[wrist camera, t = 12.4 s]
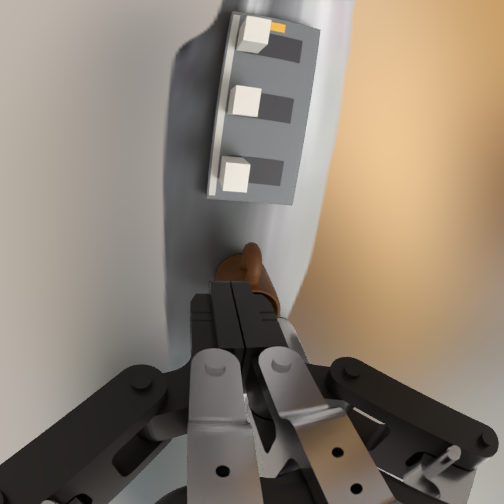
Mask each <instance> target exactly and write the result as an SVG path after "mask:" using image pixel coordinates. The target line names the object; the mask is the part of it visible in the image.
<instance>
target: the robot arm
mask: <svg viewBox="0 0 504 504" xmlns="http://www.w3.org/2000/svg"><path fill="white" fill-rule="evenodd" d="M190 342H191V358H190V360H189V361H188V363H187V364H186V365H185V366H183V367H182V368H180V369H177V370H174V371H171V372H167V373H162V372H161V371H160V370H158V369H156V368H155V367H152V366H149V365H133V366H130V367H128V368H126V369H125V370H123V371H122V372H121V373H119V374H118V375H117V376H116V377H115V378H113V379H112V380H110V381H109V382H108V383H107V384H106V385H104V386H103V387H102V388H100V389H99V390H98V391H97V392H95V393H94V394H93V395H91V396H90V397H89V398H87V399H86V400H85V401H84V402H82V403H81V404H80V405H78V406H77V407H76V408H75V409H73V410H72V411H71V412H69V413H68V414H67V415H65V417H63V418H62V419H60V420H59V421H58V422H56V423H55V424H54V425H52V426H51V427H50V428H49V429H47V430H46V431H45V432H43V433H42V434H41V435H40V436H38V437H37V438H35V439H34V440H33V441H31V442H30V443H29V444H27V445H26V446H25V447H24V448H22V449H21V450H20V451H18V452H17V453H16V454H14V455H13V456H12V457H10V458H9V459H8V460H6V461H5V462H4V463H2V464H1V465H0V504H108V503H109V502H110V501H111V500H112V499H113V498H114V497H115V496H117V495H118V494H119V493H120V492H121V491H122V490H123V489H124V488H125V487H126V486H127V485H128V484H129V483H130V482H131V481H132V480H133V479H134V478H135V477H136V476H137V475H138V474H139V473H140V472H141V471H142V470H143V469H144V468H145V467H146V466H147V465H148V464H149V463H150V462H151V461H152V460H153V459H154V458H155V457H156V456H157V455H158V454H159V453H160V452H161V451H162V450H163V449H164V448H165V446H166V445H167V444H168V443H169V442H170V441H171V439H172V438H174V437H177V436H181V435H184V434H187V486H184V487H181V488H178V489H176V490H174V491H172V492H170V493H168V494H166V495H165V496H163V497H162V498H161V499H160V500H158V501H157V502H156V503H155V504H467V501H468V498H469V494H470V491H471V488H472V484H473V481H474V477H475V473H476V470H477V468H478V467H479V466H481V465H482V464H483V463H485V462H486V461H487V460H488V459H490V458H491V457H492V456H493V455H494V454H495V453H496V452H497V450H498V445H499V442H498V437H497V435H496V433H495V432H494V430H493V429H492V428H490V427H489V426H487V425H485V424H483V423H481V422H479V421H477V420H474V419H472V418H470V417H468V416H466V415H464V414H462V413H460V412H457V411H456V410H454V409H452V408H449V407H447V406H446V405H443V404H442V403H440V402H437V401H435V400H434V399H431V398H430V397H427V396H426V395H423V394H422V393H420V392H418V391H416V390H414V389H412V388H410V387H408V386H406V385H404V384H402V383H400V382H398V381H397V380H395V379H393V378H391V377H389V376H387V375H386V374H383V373H382V372H380V371H378V370H376V369H374V368H373V367H371V366H368V365H367V364H365V363H363V362H362V361H360V360H357V359H355V358H351V357H342V358H338V359H336V360H335V361H334V362H333V363H332V365H331V367H326V366H318V365H313V364H310V363H309V361H308V359H307V356H306V354H305V352H304V350H303V348H302V345H301V343H300V340H299V338H298V336H297V334H296V332H295V329H294V327H293V325H292V324H291V323H290V322H289V321H288V320H286V319H284V318H279V317H278V319H277V317H276V314H275V313H274V309H273V307H272V304H271V302H270V301H269V300H268V299H267V298H266V297H265V296H263V295H262V294H253V291H252V288H251V285H250V282H245V281H230V282H229V281H210V282H209V293H208V294H195V296H194V297H193V299H192V300H191V306H190ZM245 393H247V397H248V401H249V402H248V406H247V414H248V417H249V420H250V423H251V424H250V423H248V422H247V419H246V412H245V404H244V395H243V394H245ZM354 407H356V408H357V409H359V410H361V411H363V412H365V413H367V414H368V415H370V416H372V417H373V418H375V419H377V420H379V421H381V422H383V423H385V424H379V423H376V422H375V421H373V420H371V419H369V418H367V417H365V416H364V415H362V414H360V413H358V412H357V411H355V410H353V408H354ZM252 429H253V430H252ZM253 432H254V435H255V439H256V441H257V444H258V447H259V450H260V453H261V457H262V470H263V475H264V477H259V472H258V464H257V457H256V450H255V444H254V436H253ZM377 467H379V468H380V469H383V470H385V471H386V472H389V473H391V474H393V475H395V476H397V477H399V478H401V479H403V480H404V481H403V482H401V481H400V480H398V479H396V478H394V477H392V476H390V475H388V474H386V473H385V472H383V471H380V470H379V469H378V468H377Z"/></svg>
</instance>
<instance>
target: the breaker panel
mask: <svg viewBox="0 0 504 504" xmlns="http://www.w3.org/2000/svg"><path fill="white" fill-rule="evenodd" d="M247 16H253V17H259V18H264V19H269V20H272V21H271V27H270V34H269V40H268V45H266V46H265V47H264V48H263V49H262V50H261V51H260V52H259V53H252V52H245V51H238V50H236V48H237V42H238V36H239V31H240V27H241V26H242V24H243V22H244V20H245V18H246V17H247ZM319 37H320V30H319V29H316V28H312V27H309V26H305V25H301V24H298V23H294V22H289V21H285V20H281V19H276V18H271V17H266V16H261V15H255V14H249V13H243V12H236V11H232V14H231V16H230V21H229V27H228V32H227V38H226V44H225V50H224V56H223V62H222V68H221V75H220V81H219V88H218V95H217V103H216V110H215V118H214V126H213V134H212V142H211V151H210V160H209V170H208V180H207V190H206V198H207V199H217V200H232V201H246V202H259V203H271V204H282V205H292V204H293V199H294V193H295V188H296V182H297V177H298V171H299V166H300V160H301V154H302V148H303V143H304V137H305V131H306V125H307V118H308V112H309V106H310V100H311V93H312V86H313V80H314V73H315V66H316V59H317V52H318V45H319ZM236 85H240V86H247V87H254V88H261V89H262V90H261V97H260V103H259V110H258V117H248V116H240V115H231V114H227V113H228V105H229V98H230V91H231V89H232V88H233V87H235V86H236ZM222 156H230V157H241V158H244V159H245V160H246V161H247V162H248V163H249V164H250V173H249V180H248V187H247V193H244V192H231V191H223V190H222V187H221V184H220V181H219V177H220V168H221V160H222Z"/></svg>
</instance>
